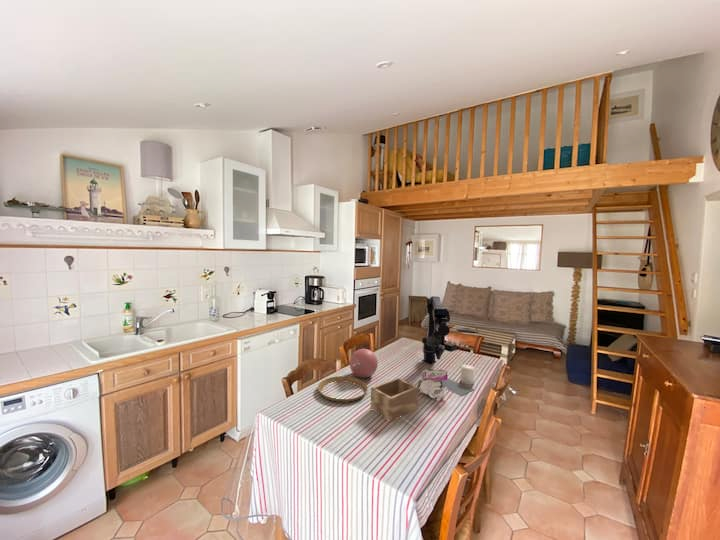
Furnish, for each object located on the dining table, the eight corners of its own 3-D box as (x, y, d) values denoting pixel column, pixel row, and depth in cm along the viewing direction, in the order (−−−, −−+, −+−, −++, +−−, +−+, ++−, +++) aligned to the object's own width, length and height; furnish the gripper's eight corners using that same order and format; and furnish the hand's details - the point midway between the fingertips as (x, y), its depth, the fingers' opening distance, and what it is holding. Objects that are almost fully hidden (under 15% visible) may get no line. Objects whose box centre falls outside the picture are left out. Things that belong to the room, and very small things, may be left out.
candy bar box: (421, 381, 162) (424, 379, 147) (421, 371, 164) (424, 368, 149) (442, 382, 161) (448, 380, 146) (442, 372, 163) (447, 369, 148)
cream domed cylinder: (457, 381, 163) (458, 366, 162) (464, 377, 167) (465, 363, 167) (469, 385, 158) (470, 371, 157) (476, 382, 162) (477, 367, 162)
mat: (427, 385, 156) (427, 385, 156) (445, 378, 166) (445, 377, 166) (456, 399, 143) (456, 398, 143) (474, 389, 153) (474, 389, 153)
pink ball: (338, 380, 159) (339, 352, 158) (359, 368, 176) (360, 343, 174) (363, 388, 150) (363, 359, 149) (382, 375, 167) (383, 348, 166)
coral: (415, 381, 147) (434, 374, 151) (415, 393, 149) (434, 385, 153) (429, 397, 136) (450, 388, 141) (430, 409, 138) (450, 400, 143)
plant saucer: (374, 388, 152) (374, 382, 152) (354, 411, 130) (354, 403, 130) (333, 378, 162) (333, 372, 162) (307, 398, 140) (308, 391, 140)
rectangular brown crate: (370, 409, 131) (371, 387, 130) (397, 398, 142) (398, 377, 141) (390, 422, 122) (390, 398, 121) (417, 409, 133) (418, 387, 132)
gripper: (416, 329, 161) (414, 357, 162) (445, 337, 147) (444, 368, 148) (429, 326, 168) (427, 353, 169) (458, 333, 154) (456, 363, 155)
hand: (438, 359), depth 160 cm, fingers closed
